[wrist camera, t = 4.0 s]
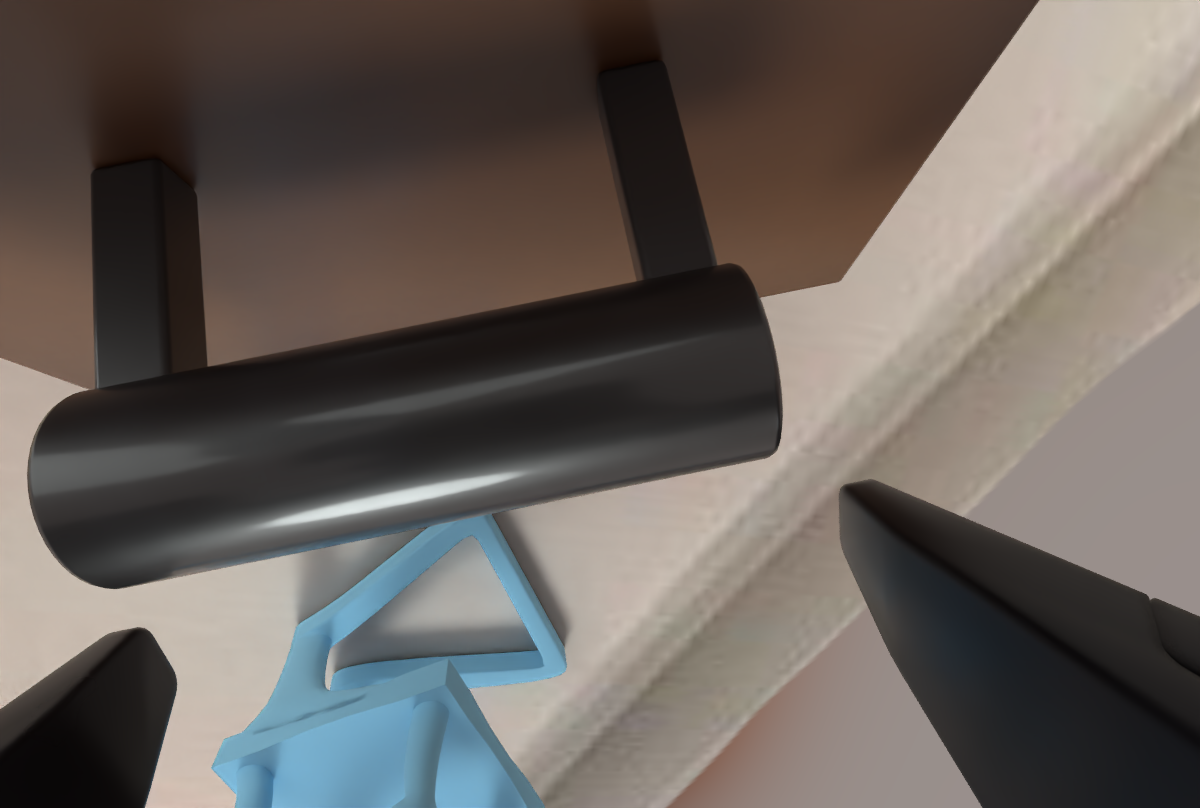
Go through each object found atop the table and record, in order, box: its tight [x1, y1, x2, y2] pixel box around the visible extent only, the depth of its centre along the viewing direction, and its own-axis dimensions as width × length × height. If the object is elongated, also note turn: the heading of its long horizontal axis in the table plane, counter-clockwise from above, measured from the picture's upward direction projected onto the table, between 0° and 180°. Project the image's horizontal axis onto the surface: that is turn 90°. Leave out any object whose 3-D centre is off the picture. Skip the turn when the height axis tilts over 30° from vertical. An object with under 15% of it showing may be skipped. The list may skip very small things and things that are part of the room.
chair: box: [211, 514, 567, 808], centre depth 20 cm, size 8×8×12 cm
